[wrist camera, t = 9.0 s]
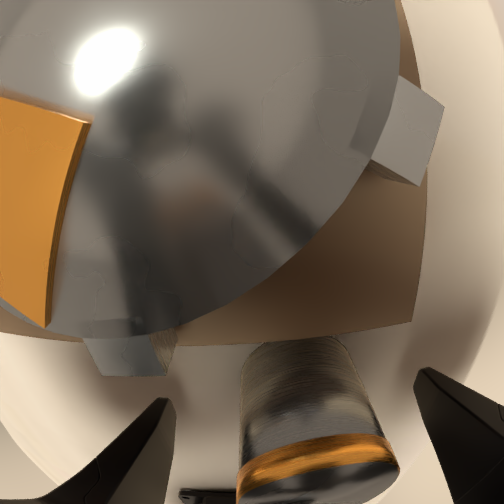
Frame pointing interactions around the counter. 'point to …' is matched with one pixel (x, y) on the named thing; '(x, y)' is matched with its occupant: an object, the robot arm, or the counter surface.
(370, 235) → the sprocket base
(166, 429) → the robot arm
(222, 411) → the counter surface
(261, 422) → the roller
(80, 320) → the sprocket
